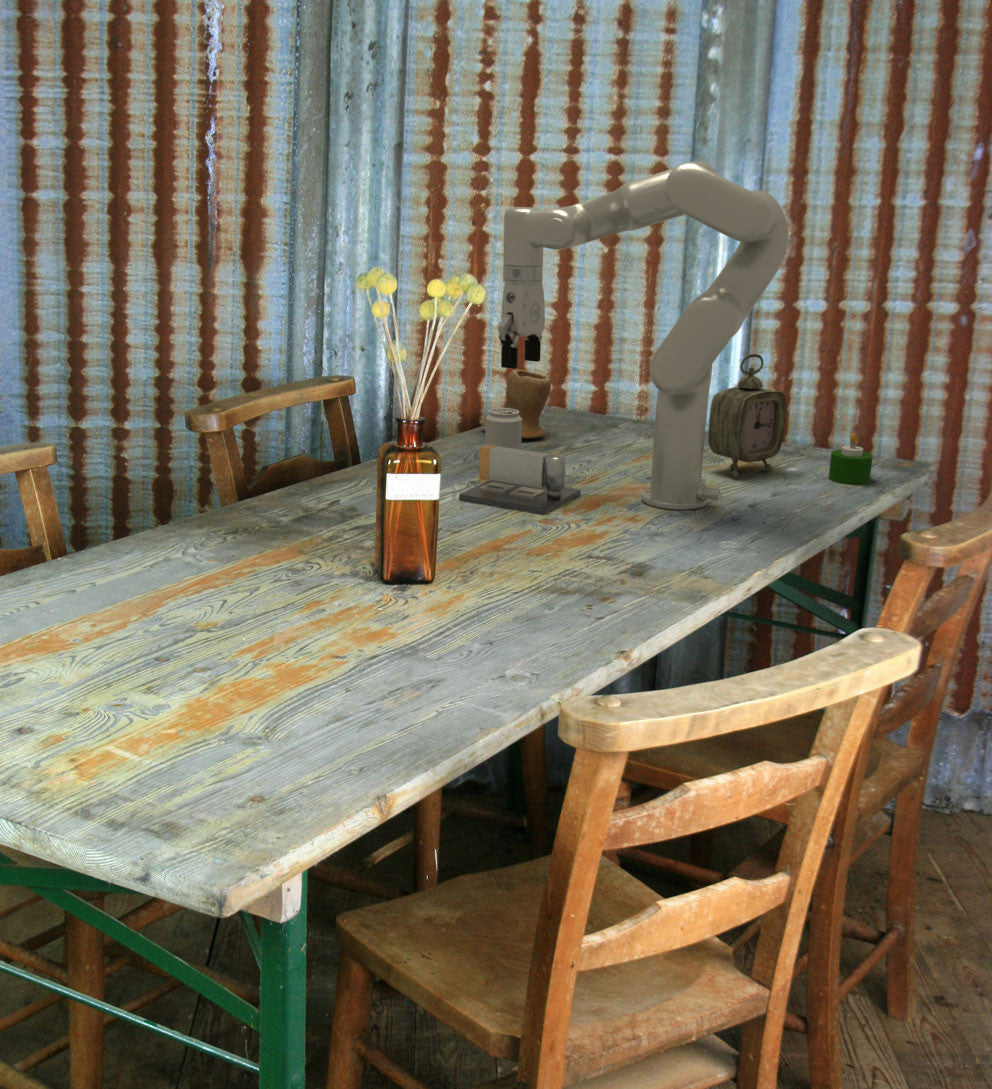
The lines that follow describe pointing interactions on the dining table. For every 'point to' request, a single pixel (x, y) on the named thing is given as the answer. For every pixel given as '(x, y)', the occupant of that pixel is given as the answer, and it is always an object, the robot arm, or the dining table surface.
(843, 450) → the candle
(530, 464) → the grey block tan end
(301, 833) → the dining table surface
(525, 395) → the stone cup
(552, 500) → the dark grey flat slab
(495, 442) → the can
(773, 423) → the tabletop clock
